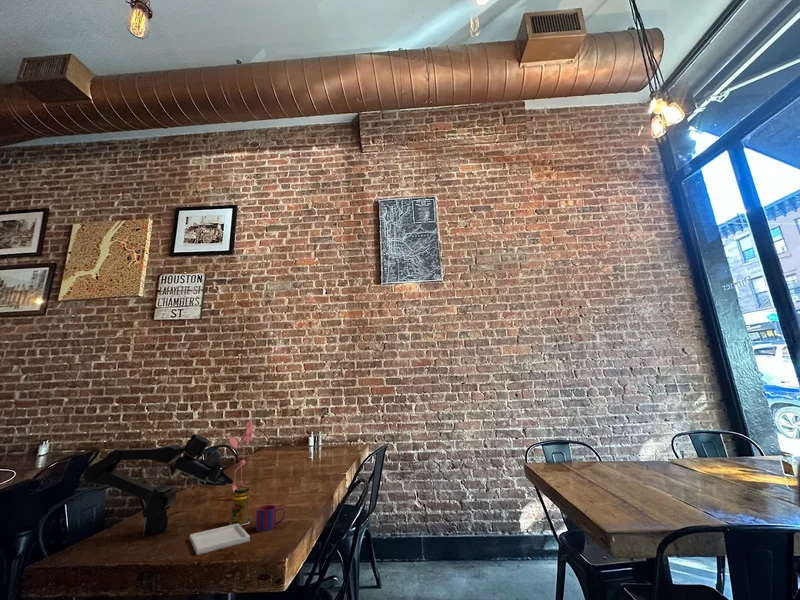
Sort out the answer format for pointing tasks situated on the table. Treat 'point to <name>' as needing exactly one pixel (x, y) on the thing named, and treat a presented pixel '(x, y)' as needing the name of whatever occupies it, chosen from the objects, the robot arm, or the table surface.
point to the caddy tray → (218, 538)
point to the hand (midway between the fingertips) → (229, 483)
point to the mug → (267, 518)
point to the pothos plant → (234, 444)
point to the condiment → (240, 507)
